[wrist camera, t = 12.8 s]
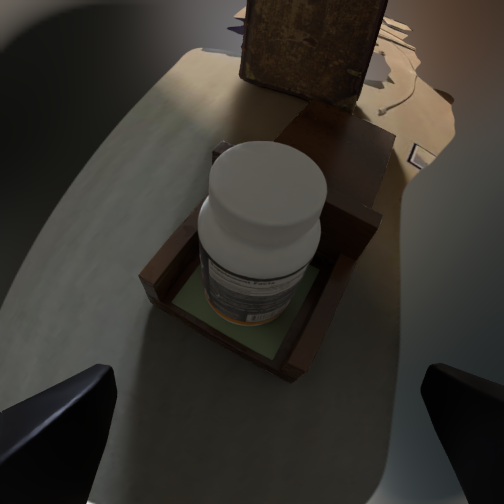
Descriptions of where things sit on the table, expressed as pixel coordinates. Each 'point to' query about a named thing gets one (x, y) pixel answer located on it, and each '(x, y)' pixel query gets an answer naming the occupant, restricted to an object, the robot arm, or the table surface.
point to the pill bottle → (259, 229)
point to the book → (311, 47)
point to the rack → (322, 264)
